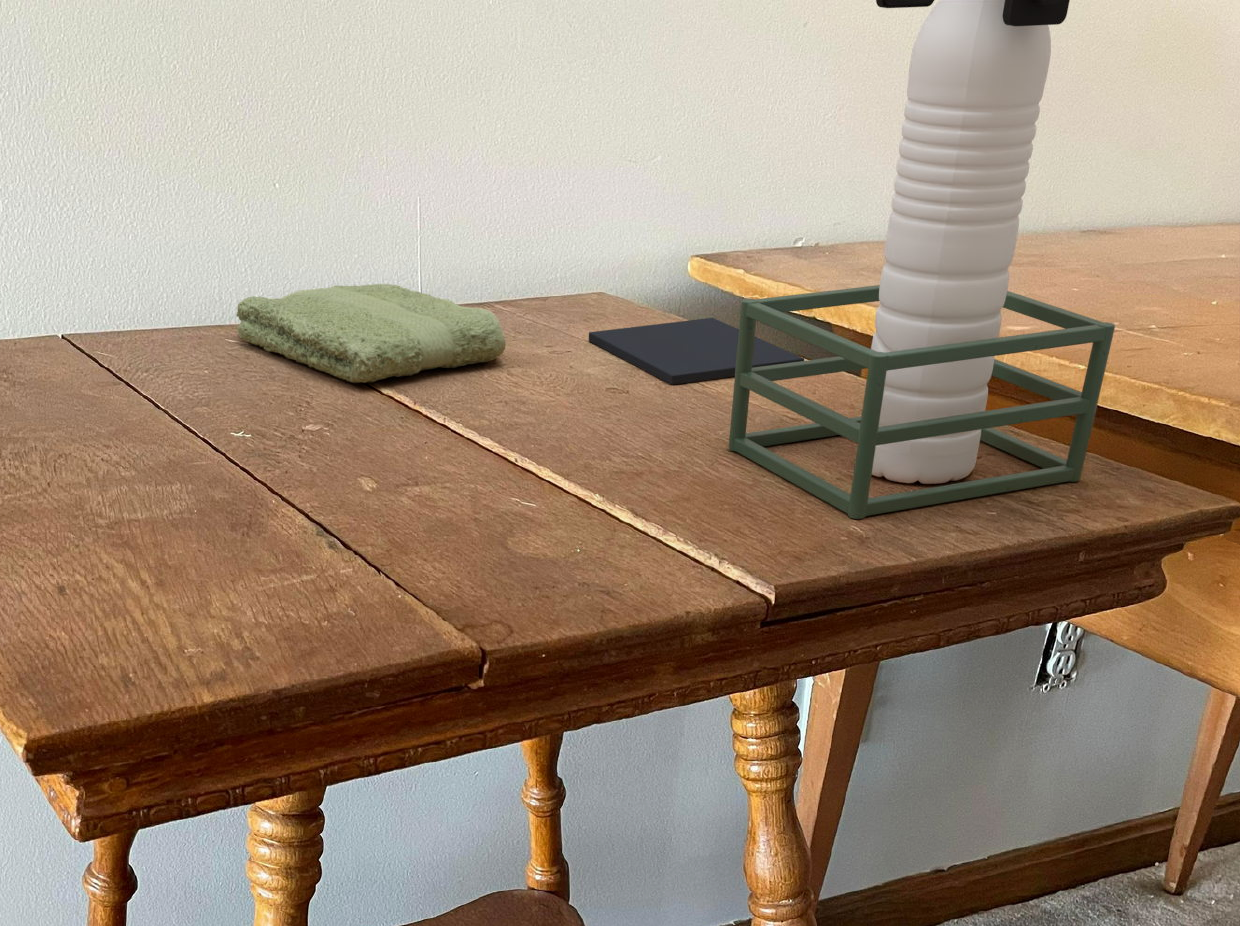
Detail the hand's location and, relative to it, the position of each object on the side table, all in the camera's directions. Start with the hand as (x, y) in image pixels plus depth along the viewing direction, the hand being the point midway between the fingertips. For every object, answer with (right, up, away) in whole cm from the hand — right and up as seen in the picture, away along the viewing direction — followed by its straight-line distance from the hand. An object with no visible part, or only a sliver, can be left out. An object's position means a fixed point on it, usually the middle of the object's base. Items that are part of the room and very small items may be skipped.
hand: (965, 15), depth 73 cm
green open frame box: (0, -17, +13) cm, 21 cm away
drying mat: (-9, -3, +31) cm, 33 cm away
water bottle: (0, -17, +13) cm, 21 cm away
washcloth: (-31, -3, +32) cm, 45 cm away
